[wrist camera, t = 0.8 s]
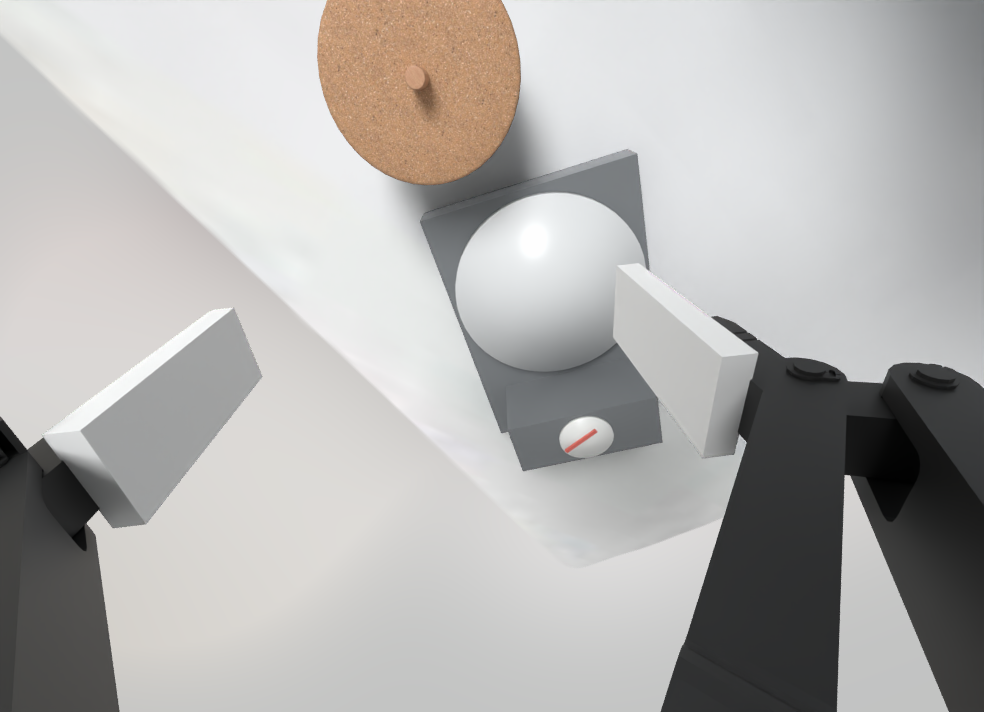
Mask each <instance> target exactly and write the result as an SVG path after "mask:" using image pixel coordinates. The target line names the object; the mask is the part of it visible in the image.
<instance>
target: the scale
mask: <svg viewBox="0 0 984 712" xmlns="http://www.w3.org/2000/svg"><path fill="white" fill-rule="evenodd" d="M420 223H421V226H422V228H423V231H424V233H425V236H426V239H427V241H428V244H429V246H430V249H431V252H432V254H433V257H434V259H435V262H436V265H437V267H438V270H439V272H440V275H441V278H442V280H443V283H444V285H445V288H446V291H447V293H448V296H449V298H450V301H451V304H452V306H453V309H454V311H455V314H456V316H457V319H458V322H459V324H460V327H461V329H462V332H463V335H464V337H465V340H466V342H467V345H468V348H469V350H470V353H471V355H472V358H473V361H474V363H475V366H476V368H477V371H478V374H479V376H480V379H481V381H482V384H483V387H484V389H485V392H486V394H487V397H488V400H489V402H490V405H491V407H492V410H493V413H494V415H495V418H496V420H497V423H498V426H499V428H500V431H501V433H504V432H509V435H510V438H511V440H512V443H513V446H514V448H515V451H516V454H517V456H518V459H519V462H520V464H521V467H522V470H523V471H527V470H532V469H537V468H541V467H546V466H551V465H556V464H561V463H566V462H570V461H575V460H580V459H585V458H590V457H595V456H599V455H604V454H609V453H614V452H619V451H623V450H628V449H633V448H638V447H643V446H647V445H652V444H657V443H662V434H661V425H660V416H659V407H658V399H657V398H658V397H657V396H656V395H655V393H654V392H653V391H652V389H651V388H650V387H649V385H648V384H647V383H646V381H645V380H644V379H643V377H642V376H641V374H640V373H639V372H638V370H637V369H636V368H635V366H634V365H633V364H632V362H631V361H630V360H629V358H628V357H627V356H626V354H625V353H624V351H623V350H622V349H621V347H620V346H619V345H618V343H617V342H616V341H615V339H614V338H613V326H614V307H615V288H616V268H617V265H626V264H635V263H639V264H640V265H642V266H643V267H644V268H646V269H647V270H648V271H649V261H648V252H647V242H646V232H645V223H644V213H643V204H642V194H641V185H640V175H639V166H638V156H637V153H635V152H632V151H630V150H628V149H626V150H623V151H620V152H617V153H614V154H611V155H607V156H604V157H601V158H598V159H595V160H591V161H588V162H585V163H582V164H579V165H576V166H572V167H569V168H566V169H563V170H560V171H557V172H553V173H550V174H547V175H544V176H541V177H538V178H534V179H531V180H528V181H525V182H522V183H519V184H515V185H512V186H509V187H506V188H503V189H500V190H496V191H493V192H490V193H487V194H484V195H481V196H477V197H474V198H471V199H468V200H465V201H461V202H458V203H455V204H452V205H449V206H446V207H442V208H439V209H436V210H433V211H430V212H427V213H424V215H423V217H422V219H421V221H420Z"/></svg>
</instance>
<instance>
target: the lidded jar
mask: <svg viewBox="0 0 984 712" xmlns="http://www.w3.org/2000/svg"><path fill="white" fill-rule="evenodd" d="M317 59H318V69H319V77H320V82H321V86H322V90H323V94H324V97H325V100H326V103H327V105H328V108H329V111H330V113H331V115H332V117H333V119H334V121H335V123H336V125H337V127H338V129H339V130H340V132H341V133H342V134H343V136H344V137H345V139H346V140H347V142H348V143H349V144H350V145H351V146H352V147H353V149H354V150H355V151H356V152H357V153H358V154H359V155H360V156H361V157H362V158H363V159H365V160H366V161H367V162H368V163H369V164H371V165H372V166H373V167H375V168H376V169H378V170H380V171H381V172H383V173H384V174H386V175H388V176H391V177H393V178H395V179H398V180H400V181H404V182H408V183H412V184H420V185H437V184H444V183H448V182H452V181H456V180H458V179H460V178H462V177H465V176H467V175H469V174H470V173H472V172H473V171H475V170H476V169H478V168H480V167H481V166H482V165H483V164H484V163H485V162H486V161H487V160H488V159H489V158H490V157H491V156H492V155H493V154H494V152H495V151H496V150H497V149H498V147H499V146H500V145H501V143H502V141H503V140H504V138H505V136H506V134H507V133H508V131H509V128H510V126H511V123H512V121H513V118H514V116H515V112H516V108H517V103H518V99H519V91H520V82H521V71H520V56H519V50H518V43H517V39H516V36H515V32H514V29H513V26H512V22H511V20H510V18H509V15H508V13H507V11H506V9H505V7H504V4H503V3H502V1H501V0H327V2H326V6H325V9H324V12H323V15H322V18H321V23H320V29H319V35H318V53H317Z"/></svg>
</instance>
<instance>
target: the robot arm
mask: <svg viewBox="0 0 984 712" xmlns="http://www.w3.org/2000/svg"><path fill="white" fill-rule="evenodd" d="M613 338H614V339H615V341H616V342H617V343H618V345H619V346H620V347H621V349H622V350H623V351H624V353H625V354H626V356H627V357H628V358H629V360H630V361H631V362H632V364H633V365H634V366H635V368H636V369H637V370H638V372H639V373H640V374H641V376H642V377H643V379H644V380H645V381H646V383H647V384H648V385H649V387H650V388H651V389H652V391H653V392H654V393H655V395H656V396H657V397H658V399H659V400H660V402H661V403H662V404H663V406H664V407H665V408H666V410H667V411H668V412H669V414H670V415H671V416H672V418H673V419H674V421H675V422H676V423H677V425H678V426H679V427H680V429H681V430H682V431H683V433H684V434H685V435H686V437H687V438H688V439H689V441H690V442H691V444H692V445H693V446H694V448H695V449H696V450H697V452H698V453H699V454H700V456H701V457H702V458H709V457H718V456H726V455H734V453H735V449H736V444H737V440H738V436H739V434H740V435H741V436H742V437H743V439H744V440H745V441H746V442H747V444H746V447H745V451H744V454H743V457H742V460H741V463H740V467H739V470H738V473H737V476H736V480H735V483H734V486H733V489H732V492H731V496H730V499H729V502H728V505H727V509H726V512H725V515H724V518H723V522H722V525H721V528H720V531H719V534H718V538H717V541H716V544H715V548H714V550H713V554H712V557H711V560H710V563H709V567H708V570H707V573H706V576H705V580H704V583H703V586H702V589H701V592H700V596H699V599H698V602H697V605H696V608H695V612H694V615H693V618H692V621H691V624H690V628H689V631H688V634H687V637H686V640H685V643H684V645H683V646H682V648H681V650H680V653H679V656H678V659H677V662H676V665H675V668H674V671H673V675H672V678H671V681H670V684H669V687H668V690H667V693H666V697H665V700H664V703H663V706H662V709H661V712H837V686H838V685H837V684H838V655H839V624H840V596H841V564H842V535H843V505H844V475H850V476H851V478H852V480H853V483H854V485H855V488H856V490H857V492H858V495H859V497H860V500H861V502H862V505H863V507H864V509H865V512H866V514H867V516H868V519H869V521H870V524H871V526H872V528H873V531H874V533H875V536H876V538H877V541H878V543H879V545H880V548H881V550H882V552H883V555H884V557H885V560H886V562H887V564H888V567H889V569H890V572H891V574H892V576H893V579H894V581H895V583H896V586H897V588H898V591H899V593H900V596H901V598H902V600H903V603H904V605H905V607H906V610H907V612H908V615H909V617H910V620H911V622H912V624H913V627H914V629H915V632H916V634H917V636H918V639H919V641H920V643H921V646H922V648H923V651H924V653H925V655H926V658H927V660H928V662H929V665H930V667H931V670H932V672H933V675H934V677H935V679H936V682H937V684H938V687H939V689H940V691H941V694H942V696H943V698H944V701H945V703H946V706H947V708H948V711H949V712H984V388H983V387H982V386H981V385H979V384H978V383H977V382H975V381H974V380H972V379H971V378H970V377H968V376H965V375H963V374H961V373H958V372H956V371H955V370H953V369H951V368H948V367H942V366H940V365H936V364H922V363H901V364H896V365H893V366H892V367H891V368H890V369H889V370H888V372H887V375H886V377H885V380H884V382H883V384H882V383H866V382H850V381H847V378H846V376H845V374H843V373H842V372H841V371H840V370H838V369H837V368H835V367H833V366H830V365H828V364H826V363H823V362H819V361H816V360H812V359H805V358H784V357H783V356H781V355H780V354H778V353H777V352H776V351H774V350H773V349H771V348H770V347H768V346H767V345H766V344H764V343H763V342H761V341H760V340H757V338H756V337H754V336H753V335H751V334H750V333H747V331H746V330H744V329H743V328H742V327H740V326H739V325H737V324H736V323H734V322H732V321H729V320H726V319H724V318H721V317H718V316H714V317H710V316H709V315H707V314H706V313H705V312H703V311H702V310H700V309H699V308H698V307H696V306H695V305H694V304H692V303H691V302H690V301H688V300H687V299H686V298H684V297H683V296H682V295H680V294H679V293H678V292H676V291H675V290H674V289H672V288H671V287H670V286H668V285H667V284H666V283H664V282H663V281H662V280H660V279H659V278H658V277H656V276H655V275H654V274H652V273H651V272H650V271H648V270H647V269H646V268H644V267H643V266H642V265H640V264H639V263H635V264H626V265H617V268H616V288H615V307H614V326H613ZM261 378H262V375H261V372H260V369H259V367H258V365H257V362H256V360H255V357H254V355H253V353H252V350H251V348H250V345H249V343H248V340H247V338H246V335H245V333H244V331H243V328H242V326H241V323H240V321H239V319H238V316H237V314H236V311H235V309H234V308H225V309H216V310H211V311H210V312H208V313H207V314H205V315H204V316H203V317H201V318H200V319H199V320H197V321H196V322H194V323H193V324H192V325H191V326H189V327H188V328H186V329H185V330H184V331H182V332H181V333H179V334H178V335H177V336H175V337H174V338H173V339H171V340H170V341H169V342H167V343H166V344H164V345H163V346H162V347H160V348H159V349H158V350H156V351H155V352H154V353H152V354H151V355H150V356H148V357H147V358H145V359H144V360H143V361H141V362H140V363H139V364H138V365H136V366H135V367H133V368H132V369H131V370H129V371H128V372H126V373H125V374H124V375H122V376H121V377H120V378H118V379H117V380H116V381H114V382H113V383H111V384H110V385H109V386H107V387H106V388H105V389H103V390H102V391H101V392H99V393H98V394H97V395H95V396H94V397H93V398H91V399H90V400H88V401H87V402H86V403H84V404H83V405H82V406H80V407H79V408H77V409H76V410H75V411H73V412H72V413H71V414H69V415H68V416H67V417H65V418H64V419H63V420H61V421H60V422H58V423H57V424H56V425H54V426H53V427H52V428H50V429H49V430H48V431H46V432H45V433H43V434H42V436H43V438H42V439H41V440H40V441H38V442H37V443H36V444H34V445H33V446H32V447H30V448H29V449H28V450H27V449H26V448H25V447H24V446H23V444H22V443H21V442H20V440H19V439H18V438H17V437H16V435H15V434H14V433H13V432H12V430H11V429H10V428H9V427H8V425H7V424H6V423H5V422H4V420H3V419H2V418H1V417H0V712H119V705H118V698H117V691H116V683H115V676H114V668H113V661H112V654H111V646H110V639H109V632H108V624H107V617H106V610H105V602H104V595H103V588H102V580H101V573H100V566H99V558H98V551H97V544H96V536H95V534H94V533H93V531H92V530H91V529H90V527H89V526H88V525H87V524H86V523H87V522H88V521H89V520H90V518H91V517H92V516H93V515H94V514H95V513H96V512H97V511H98V510H99V511H100V512H101V513H102V515H103V516H104V517H105V519H106V520H107V521H108V523H109V524H110V525H111V527H112V528H119V527H127V526H135V525H144V524H147V522H148V521H149V520H150V519H151V517H152V516H153V515H154V514H155V512H156V511H157V510H158V508H159V507H160V506H161V505H162V503H163V502H164V501H165V500H166V498H167V497H168V496H169V494H170V493H171V492H172V491H173V489H174V488H175V487H176V486H177V484H178V483H179V482H180V481H181V479H182V478H183V476H184V475H185V474H186V472H188V470H189V469H190V468H191V467H192V465H193V464H194V463H195V461H196V460H197V459H198V458H199V457H200V455H201V454H202V453H203V451H204V450H205V449H206V448H207V446H208V445H209V444H210V443H211V441H212V440H213V439H214V437H215V436H216V435H217V433H218V432H219V431H220V430H221V429H222V427H223V426H224V425H225V424H226V422H227V421H228V420H229V418H230V417H231V416H232V415H233V413H234V412H235V411H236V410H237V408H238V407H239V406H240V405H241V403H242V402H243V401H244V399H245V398H246V397H247V396H248V394H249V393H250V392H251V390H252V389H253V388H254V387H255V386H256V384H257V383H258V382H259V380H260V379H261Z"/></svg>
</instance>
